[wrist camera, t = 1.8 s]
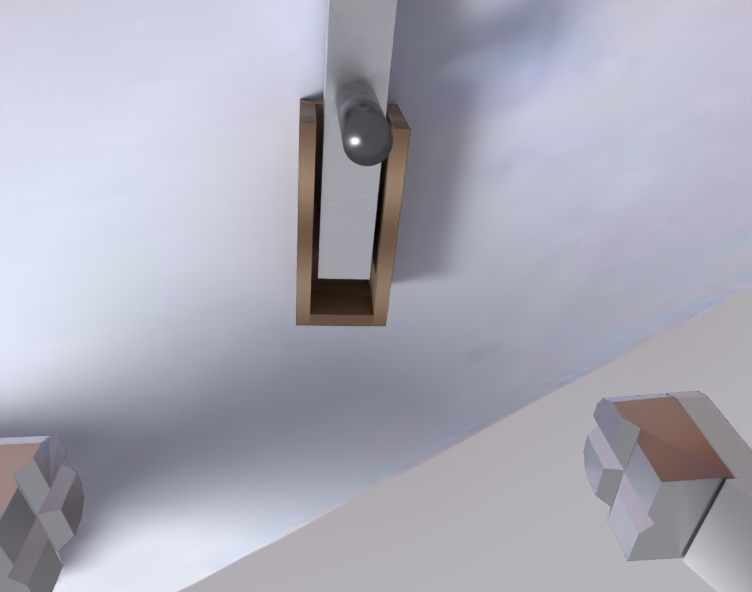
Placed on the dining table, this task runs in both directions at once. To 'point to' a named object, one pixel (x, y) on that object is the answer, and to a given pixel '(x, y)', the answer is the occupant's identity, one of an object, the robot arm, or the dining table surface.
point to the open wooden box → (371, 296)
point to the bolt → (353, 133)
